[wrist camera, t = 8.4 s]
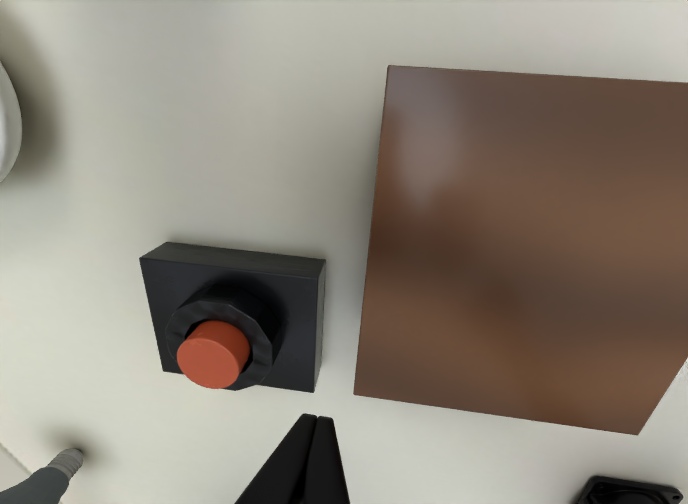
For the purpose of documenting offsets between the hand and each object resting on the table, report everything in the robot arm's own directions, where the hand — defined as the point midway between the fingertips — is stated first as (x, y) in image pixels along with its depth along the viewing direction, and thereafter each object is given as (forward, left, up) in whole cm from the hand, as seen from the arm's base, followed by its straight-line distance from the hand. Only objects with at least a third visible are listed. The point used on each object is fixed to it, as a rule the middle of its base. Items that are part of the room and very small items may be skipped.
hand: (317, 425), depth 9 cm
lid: (-8, -2, -7) cm, 10 cm away
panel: (+7, +5, -13) cm, 16 cm away
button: (+7, +5, -9) cm, 12 cm away
